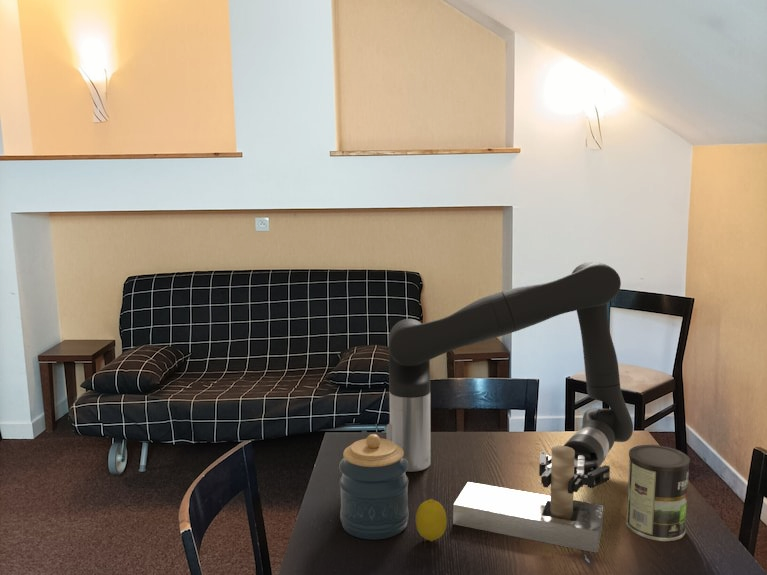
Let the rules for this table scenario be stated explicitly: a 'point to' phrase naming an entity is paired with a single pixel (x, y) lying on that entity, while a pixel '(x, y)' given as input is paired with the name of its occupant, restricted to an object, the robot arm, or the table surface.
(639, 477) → the coffee can
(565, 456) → the peg
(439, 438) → the table surface
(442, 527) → the lemon
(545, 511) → the block
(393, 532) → the canister
